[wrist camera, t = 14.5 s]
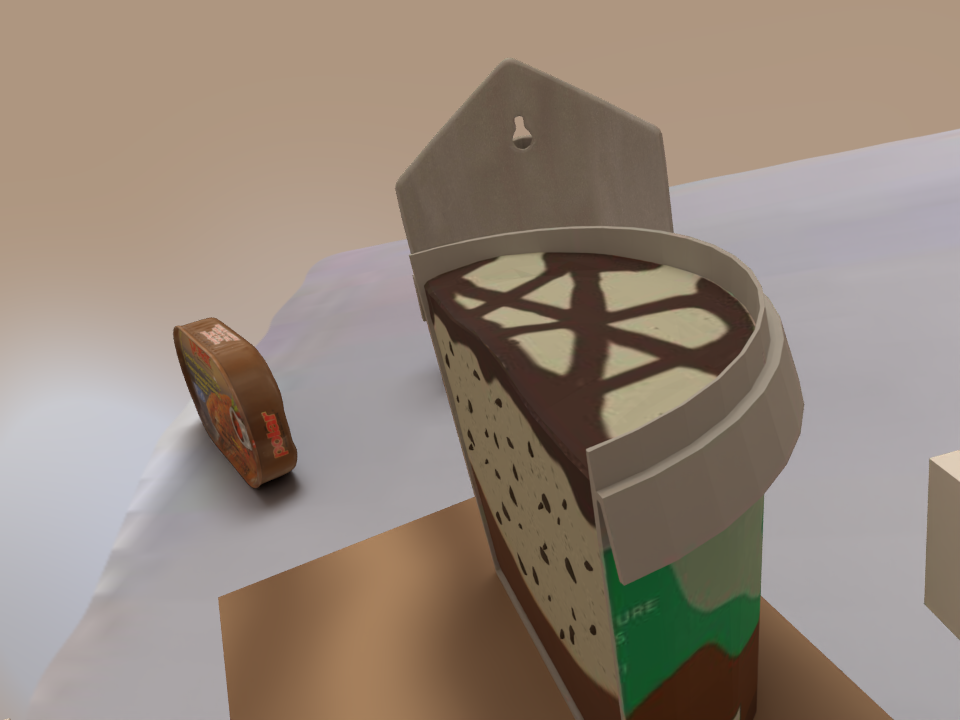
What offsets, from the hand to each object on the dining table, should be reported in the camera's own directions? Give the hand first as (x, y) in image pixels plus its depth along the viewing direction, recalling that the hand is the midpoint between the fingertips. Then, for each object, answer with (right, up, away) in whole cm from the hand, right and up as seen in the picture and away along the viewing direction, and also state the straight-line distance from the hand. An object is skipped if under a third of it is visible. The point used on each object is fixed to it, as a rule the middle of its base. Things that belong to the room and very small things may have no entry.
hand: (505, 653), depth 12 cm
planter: (+5, +6, +46) cm, 47 cm away
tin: (-15, -2, +40) cm, 43 cm away
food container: (+4, -3, +10) cm, 11 cm away
